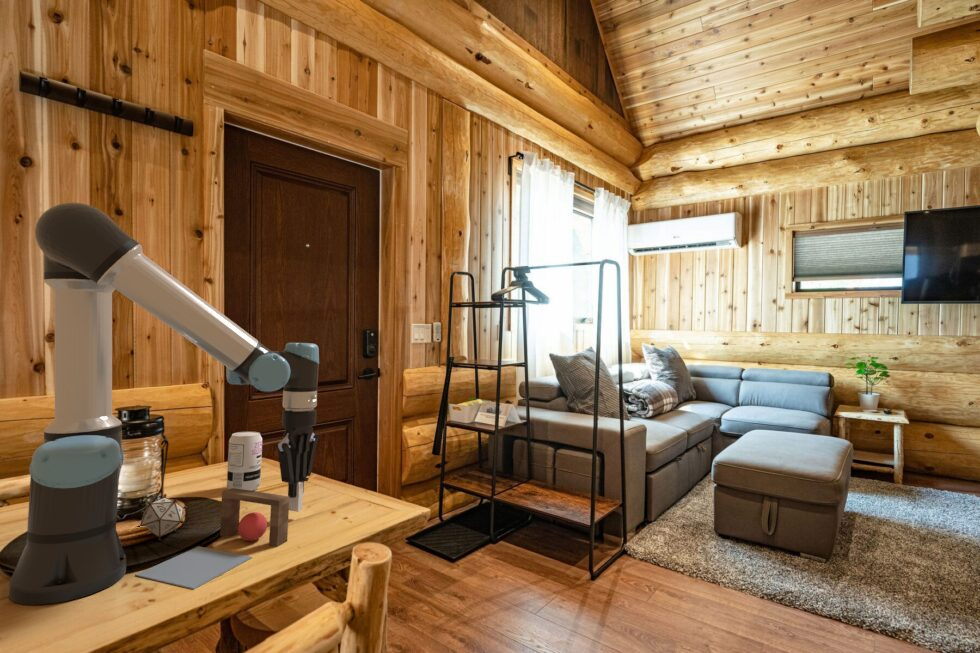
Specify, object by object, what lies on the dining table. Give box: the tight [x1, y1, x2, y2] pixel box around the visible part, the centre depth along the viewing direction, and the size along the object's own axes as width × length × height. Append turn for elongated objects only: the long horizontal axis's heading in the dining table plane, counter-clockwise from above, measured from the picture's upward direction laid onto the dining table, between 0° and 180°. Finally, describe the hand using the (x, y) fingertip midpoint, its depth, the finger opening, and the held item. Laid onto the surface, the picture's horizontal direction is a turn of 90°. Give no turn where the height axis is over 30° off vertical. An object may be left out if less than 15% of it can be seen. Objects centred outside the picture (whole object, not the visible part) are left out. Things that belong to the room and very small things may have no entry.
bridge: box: [219, 488, 290, 547], centre depth 106 cm, size 3×14×9 cm, turn 73°
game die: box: [136, 493, 188, 541], centre depth 105 cm, size 9×8×10 cm
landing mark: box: [135, 545, 253, 590], centre depth 92 cm, size 13×13×1 cm
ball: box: [238, 511, 268, 542], centre depth 105 cm, size 6×6×6 cm
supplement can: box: [226, 431, 263, 491], centre depth 139 cm, size 8×8×15 cm
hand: (295, 509), depth 118 cm, fingers closed
